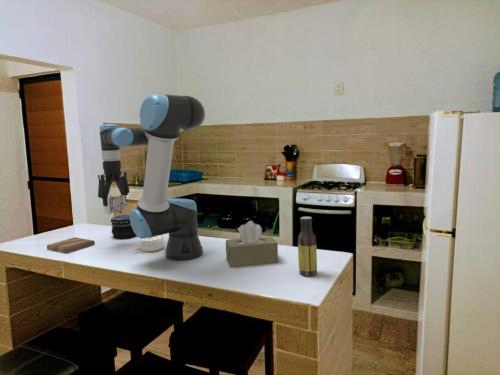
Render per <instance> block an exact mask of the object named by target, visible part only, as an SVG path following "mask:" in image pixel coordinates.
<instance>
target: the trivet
mask: <svg viewBox="0 0 500 375" xmlns="http://www.w3.org/2000/svg"><path fill="white" fill-rule="evenodd" d="M95 245H96V243H95V240H92V239H88V238H82V237H76V236H75V237H71V238H67V239H64V240H60V241H57V242H52V243H49V244H46V250H48V251H52V252H58V253H61V254H70V253H73V252H76V251H79V250H83V249H87V248H89V247H93V246H95Z"/></svg>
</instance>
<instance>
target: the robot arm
mask: <svg viewBox="0 0 500 375" xmlns="http://www.w3.org/2000/svg"><path fill="white" fill-rule="evenodd" d="M205 117H206V112H205V107H204V106H203V104H202V103H201V101H200V100H198V98H195V97H193V96H191V95H178V94H177V95H174V94H165V93H164V94H163V93H157V94H156V93H155V94H149V95H147V96H146V97H145V98H144V99H143V101H142V103H141V105H140V108H139V119H140V120H139V122H140V125H141V127H119V126H118V125H117V124H110V123H109V124H108V123H107V124H101V125H99V137H100V139H99V140H100V149H101V159H102V160H103V161H102V169H103V171H104V172H103V173H102V174H98V175H97V179H98V188H97V189H98V190H97V192H98V193H97V197H98V198H99V199H102V206H103V207H104V213H105V214H109V213H111V211H110V200H109V199H110V197H109V194H110V190H111V186H112V184H113V182H114V183H115V185H116V186H117V189H118V191H119V192H120V195H122V196H121V198H122V200H123V202H124V203H125V204H126V203H127V202H128V201H127V196H128V195H129V194H130V193H131V191H130V186H129V183H128V178H127V175H128V174H127V171H122V170H121V169H122V161H121V148H120V147H123V148H124V147H134V146H135V147H137V146H147V151H146V152H147V155H146V160H145V161H146V162H145V171H144V180H143V188H142V190H143V191H142V197H141V198H140V199H139V200H138V201H137V204H136V208H132V209H131V210H130V212H129V214H130V223H131V226H132V229H133V231H134V233H135V234H136V235H137V236H136V237H137V238H139V239H141V240H142V239H149V238H150V239H152V238H154V237H159V236H162V235H168V241H167V242H166V243H167V244H166V249H165V258H167V259H169V260H172V261H188V260H192V259H193V260H194V259H196V258H200V257H201V256H202V255H203V254H204V250H203V249H204V248H203V246H202V243H201V240H200V238H199V237H200V236H199V232H198V230H199V229H198V209H197V203H196V201H195V200H193V199H189V198H175V197H174V198H167V197H168V196H167V195H168V189H169V188H168V187H169V183H170V182H169V181H170V173H171V166H172V161H173V153H174V145H175V141H176V140H178V139H179V138H180V136H181V135H180V134H181V133H182V132H183V131H184V132H190V131H193V130H195V129H197V128H199V127H200V126H201V125H203V123H204V121H205ZM124 210H125V211H126V210H127V205H125V206H124V207H123V209H122V210H121V211H124ZM111 214H112V213H111Z"/></svg>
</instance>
